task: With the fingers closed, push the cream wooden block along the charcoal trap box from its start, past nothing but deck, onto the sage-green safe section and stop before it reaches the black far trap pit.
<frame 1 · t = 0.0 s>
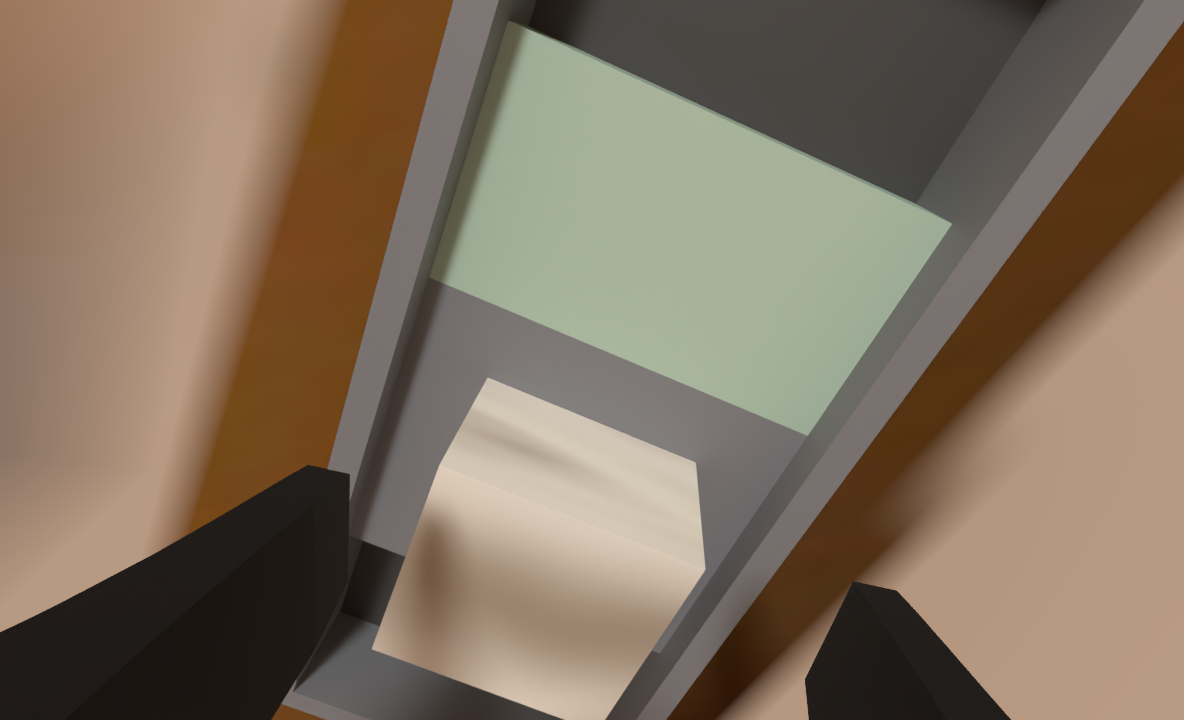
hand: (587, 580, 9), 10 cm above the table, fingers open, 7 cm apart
trap box: (614, 350, 19), on the table
cream block: (553, 502, 18), point 2 cm above the table, touching trap box
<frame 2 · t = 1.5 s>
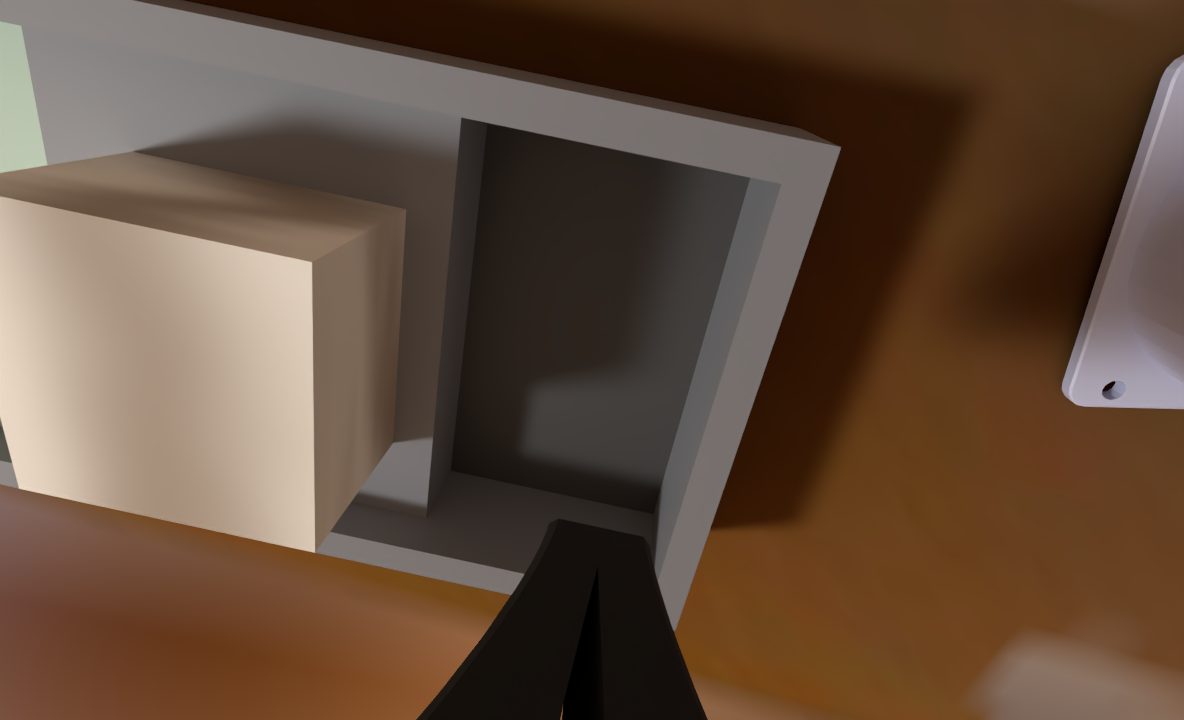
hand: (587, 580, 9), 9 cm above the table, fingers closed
trap box: (181, 246, 17), on the table
cream block: (273, 309, 15), point 2 cm above the table, touching trap box
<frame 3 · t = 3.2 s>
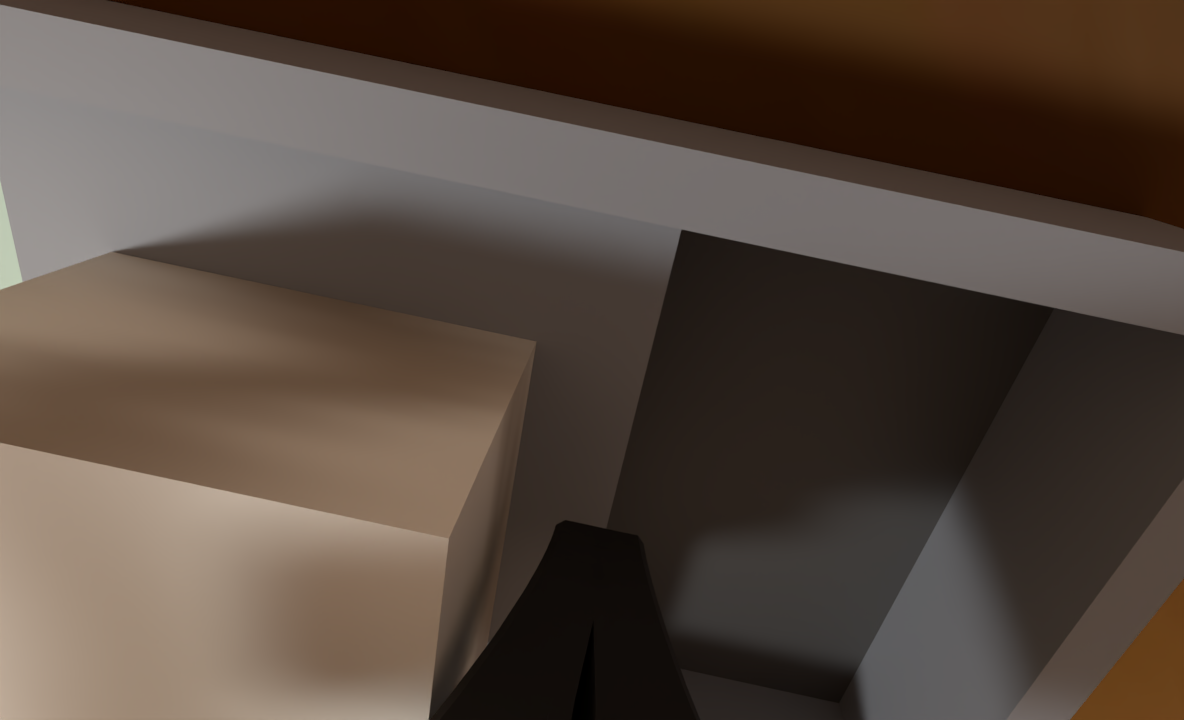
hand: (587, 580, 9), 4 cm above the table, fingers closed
trap box: (213, 360, 12), on the table
cream block: (323, 472, 10), point 3 cm above the table, touching gripper
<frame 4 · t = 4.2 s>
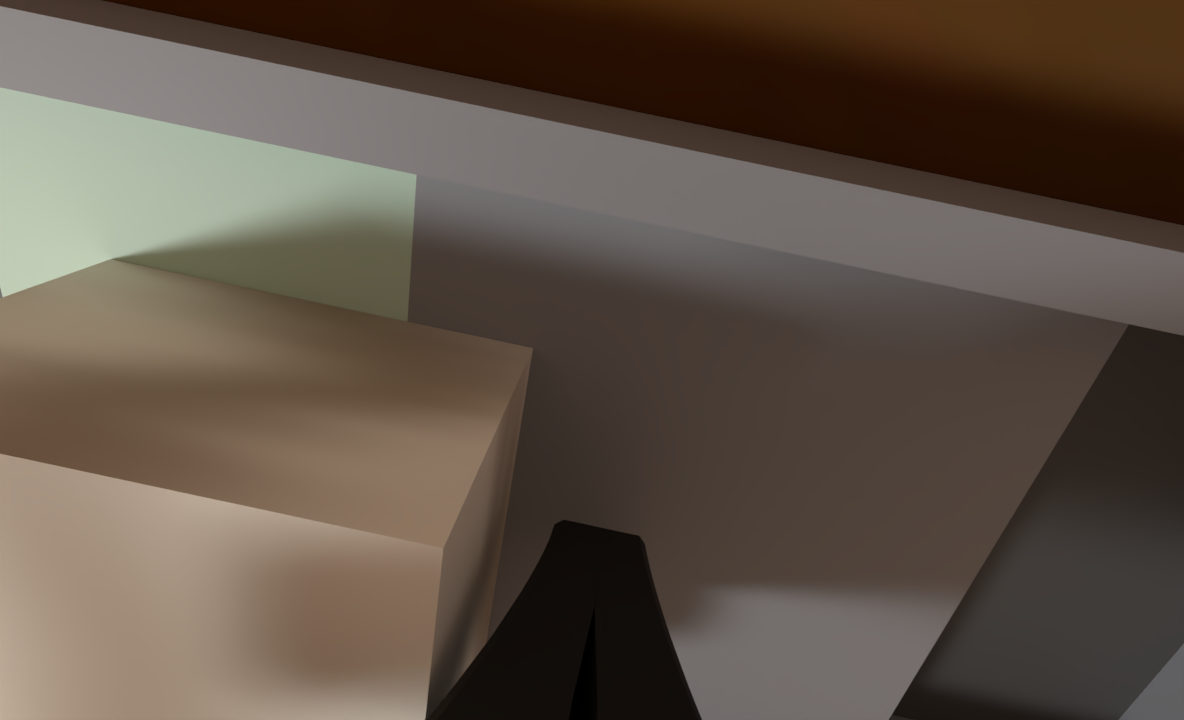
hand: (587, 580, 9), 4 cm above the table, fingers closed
trap box: (495, 421, 12), on the table
cream block: (321, 477, 10), point 3 cm above the table, touching gripper
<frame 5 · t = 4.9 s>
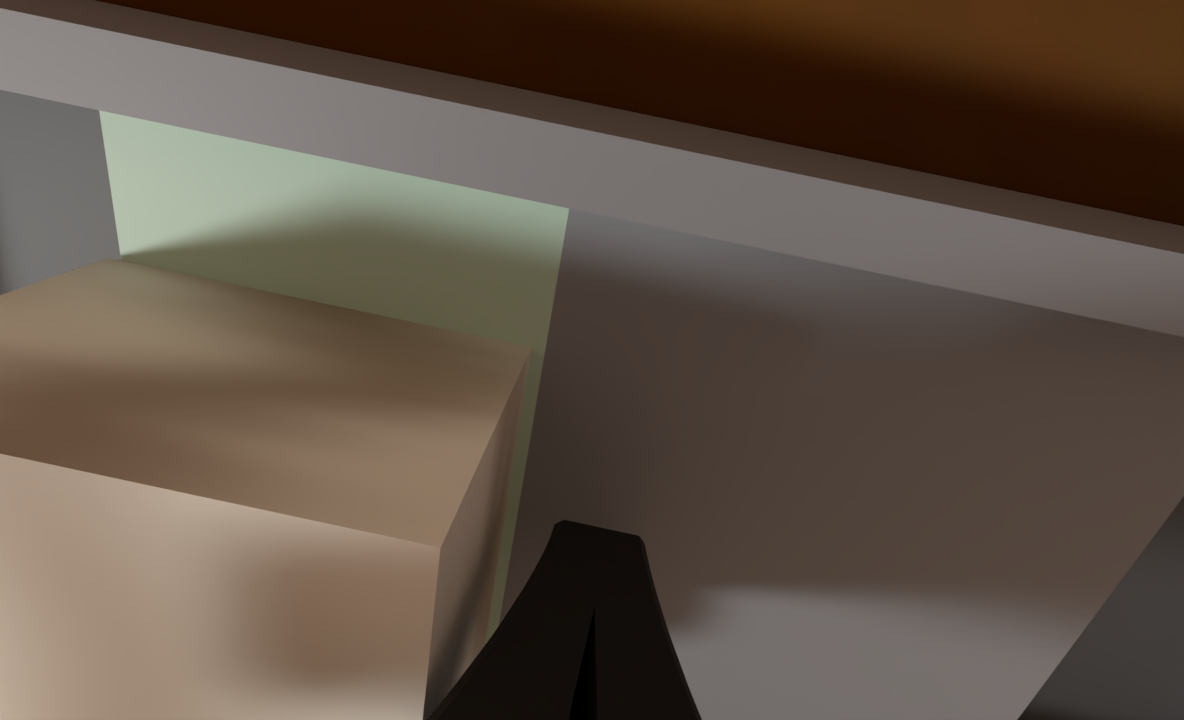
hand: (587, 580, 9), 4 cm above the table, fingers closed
trap box: (593, 444, 12), on the table
cream block: (319, 476, 10), point 3 cm above the table, touching gripper, trap box
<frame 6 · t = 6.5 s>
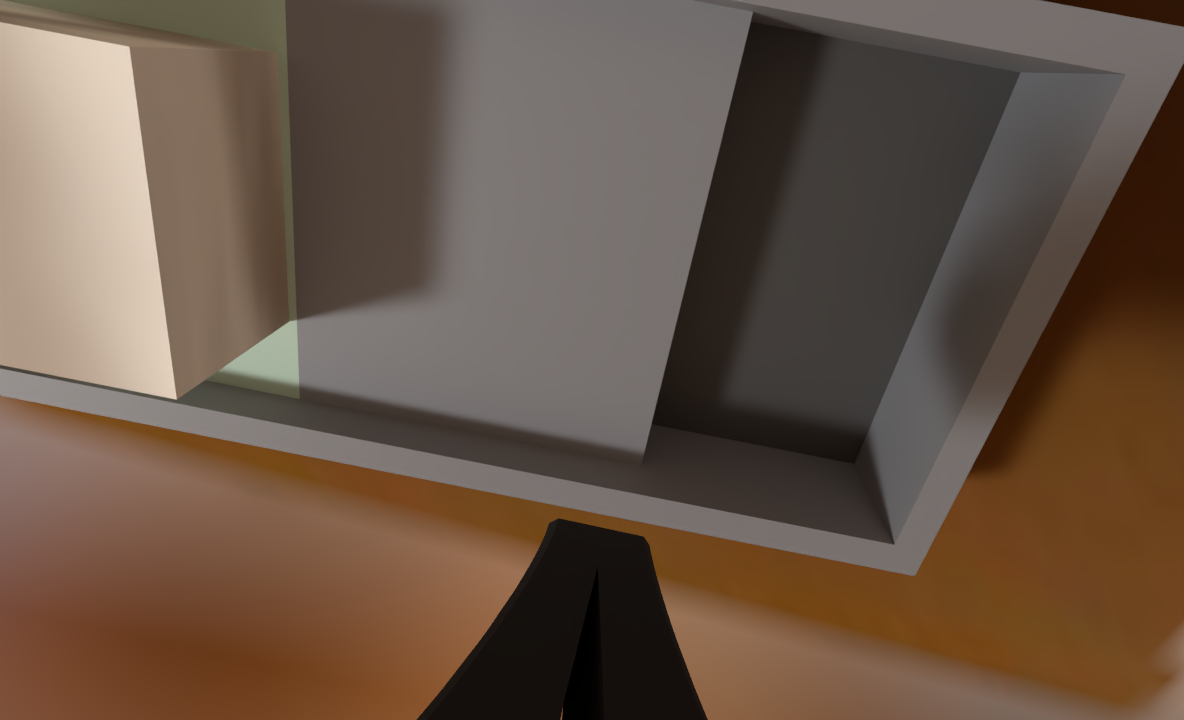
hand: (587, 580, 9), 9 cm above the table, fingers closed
trap box: (380, 187, 16), on the table
cream block: (153, 174, 14), point 2 cm above the table, touching trap box
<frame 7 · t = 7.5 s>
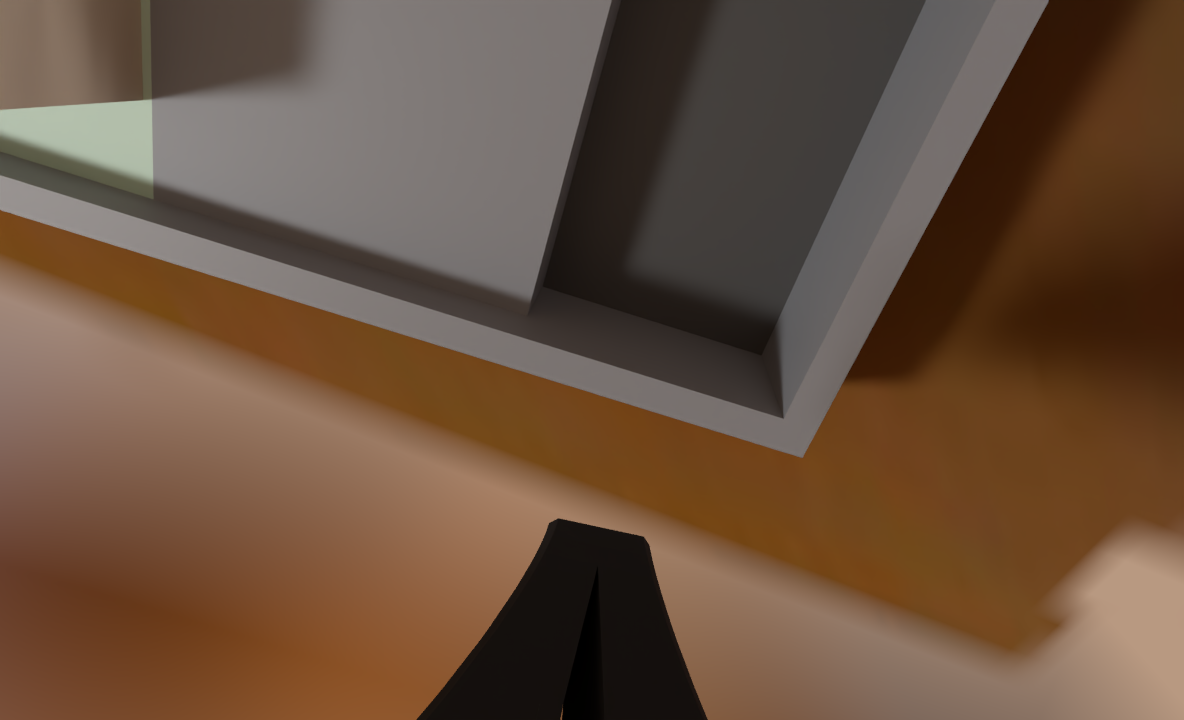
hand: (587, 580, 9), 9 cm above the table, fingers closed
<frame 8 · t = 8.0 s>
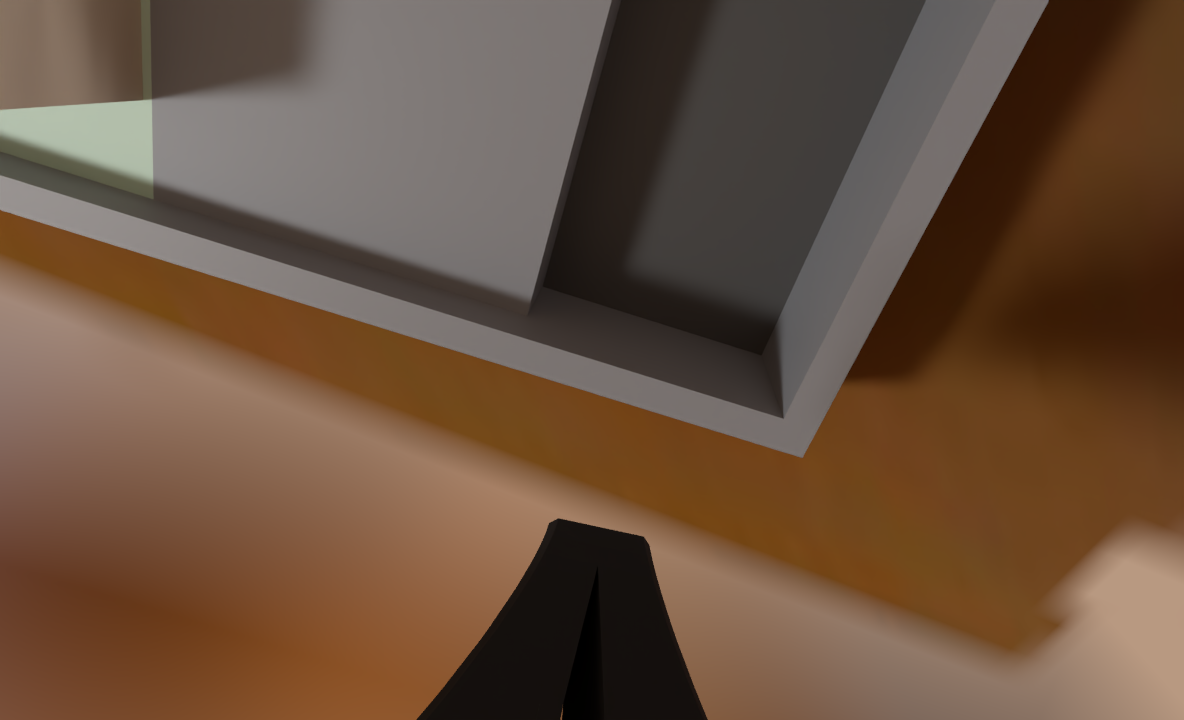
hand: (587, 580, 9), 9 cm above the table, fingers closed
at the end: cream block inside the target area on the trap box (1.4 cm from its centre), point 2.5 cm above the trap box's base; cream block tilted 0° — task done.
